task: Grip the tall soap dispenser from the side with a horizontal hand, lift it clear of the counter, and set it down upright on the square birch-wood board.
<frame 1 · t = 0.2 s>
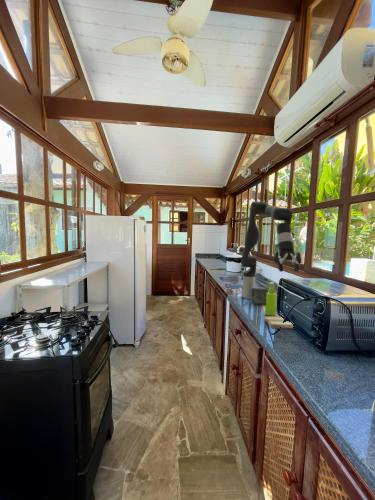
hand: (288, 271, 118), 31 cm above the worktop, tool tilted 20°, fingers open, 8 cm apart
birch board: (278, 323, 125), on the worktop
small box: (259, 303, 162), on the worktop
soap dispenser: (270, 314, 141), on the worktop
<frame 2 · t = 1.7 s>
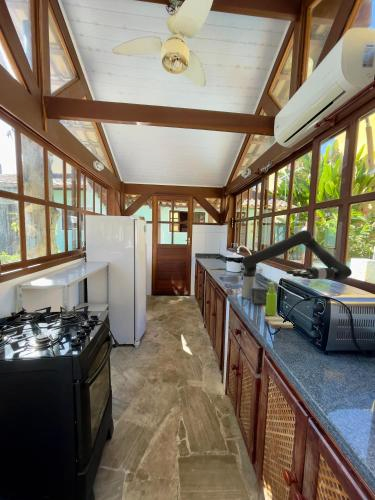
hand: (289, 273, 139), 26 cm above the worktop, tool horizontal, fingers open, 8 cm apart
nothing on the worktop moved.
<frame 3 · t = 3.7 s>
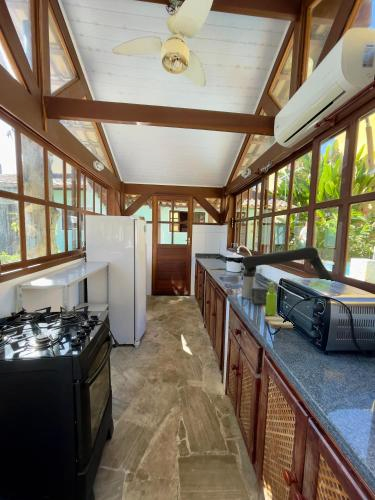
hand: (285, 296, 140), 11 cm above the worktop, tool horizontal, fingers open, 8 cm apart
nothing on the worktop moved.
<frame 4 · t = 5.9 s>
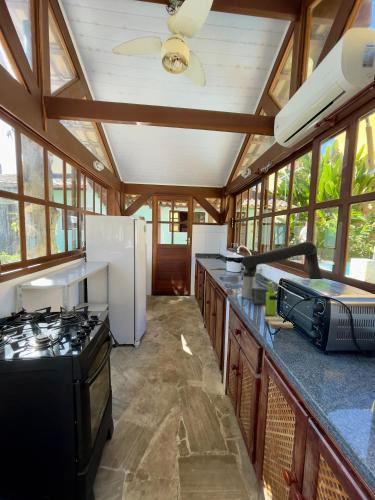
hand: (267, 296, 140), 11 cm above the worktop, tool horizontal, fingers closed on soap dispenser, 6 cm apart
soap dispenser: (270, 313, 141), on the worktop, touching gripper
everything else where it was.
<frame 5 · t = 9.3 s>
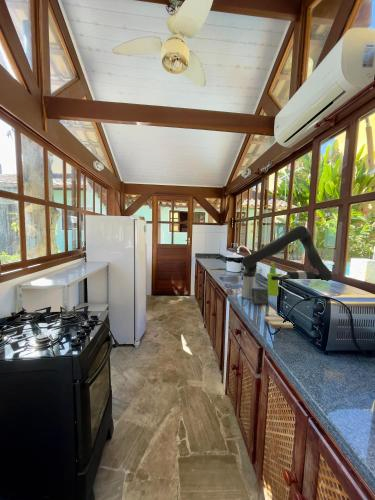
hand: (269, 277, 137), 24 cm above the worktop, tool horizontal, fingers closed on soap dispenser, 6 cm apart
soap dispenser: (272, 294, 138), point 13 cm above the worktop, touching gripper
everything else where it was.
when the fingers open (14 cm above the worktop, at t = 12.4 s): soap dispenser stays where it is, resting on birch board.
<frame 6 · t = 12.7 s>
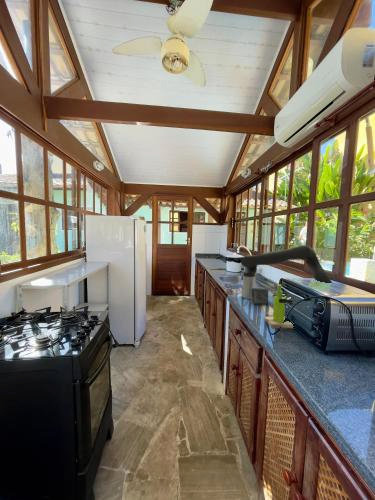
hand: (276, 298, 124), 14 cm above the worktop, tool horizontal, fingers open, 8 cm apart
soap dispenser: (278, 320, 125), point 2 cm above the worktop, touching birch board
everything else where it was.
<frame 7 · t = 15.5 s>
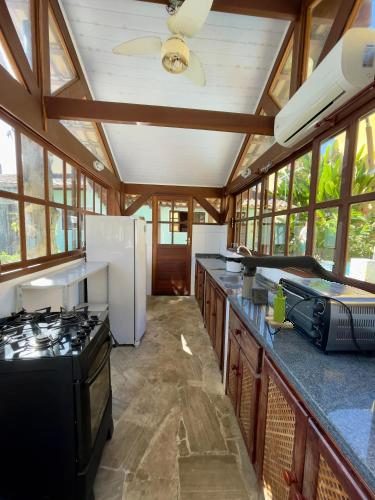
hand: (297, 298, 124), 15 cm above the worktop, tool horizontal, fingers open, 8 cm apart
nothing on the worktop moved.
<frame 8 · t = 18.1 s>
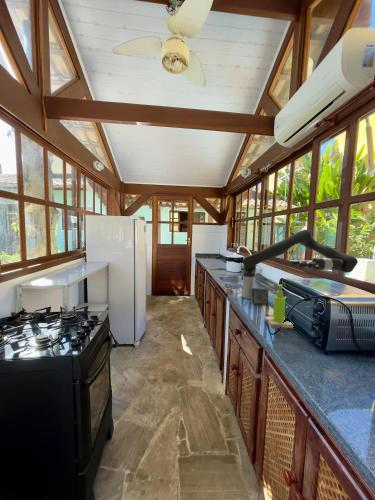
hand: (295, 263, 137), 32 cm above the worktop, tool horizontal, fingers open, 8 cm apart
nothing on the worktop moved.
at the end: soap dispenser 0.5 cm from the birch board (horizontally); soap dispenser touching birch board; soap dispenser tilted 0° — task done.
